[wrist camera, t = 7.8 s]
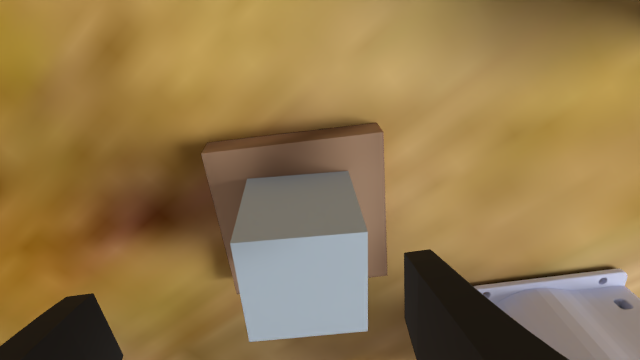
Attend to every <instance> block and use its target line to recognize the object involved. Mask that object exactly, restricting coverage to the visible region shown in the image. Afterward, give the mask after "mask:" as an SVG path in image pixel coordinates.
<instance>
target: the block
mask: <svg viewBox="0 0 640 360" xmlns="http://www.w3.org/2000/svg"><path fill="white" fill-rule="evenodd" d="M230 245H231V250H232V255H233V261H234V266H235V271H236V276H237V281H238V286H239V291H240V296H241V302H242V307H243V312H244V317H245V322H246V327H247V332H248V337H249V342H254V341H265V340H276V339H287V338H298V337H309V336H320V335H331V334H342V333H352V332H363V331H368V231H367V228H366V225H365V222H364V219H363V215H362V212H361V209H360V206H359V203H358V200H357V197H356V193H355V190H354V187H353V184H352V181H351V178H350V175H349V172H348V171H341V172H328V173H315V174H302V175H289V176H277V177H264V178H251V179H247V181H246V185H245V189H244V193H243V196H242V200H241V204H240V208H239V212H238V215H237V219H236V223H235V227H234V231H233V234H232V238H231V242H230Z"/></svg>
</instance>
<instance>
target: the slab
mask: <svg viewBox="0 0 640 360" xmlns="http://www.w3.org/2000/svg"><path fill="white" fill-rule="evenodd" d="M201 156H202V160H203V163H204V167H205V171H206V175H207V179H208V183H209V187H210V191H211V195H212V199H213V202H214V206H215V210H216V214H217V218H218V222H219V226H220V230H221V234H222V237H223V241H224V245H225V249H226V253H227V257H228V261H229V265H230V269H231V272H232V276H233V280H234V284H235V288H236V292H237V294H240V291H239V286H238V281H237V276H236V271H235V266H234V261H233V255H232V250H231V245H230V242H231V238H232V234H233V231H234V227H235V223H236V219H237V215H238V212H239V208H240V204H241V200H242V196H243V193H244V189H245V185H246V181H247V179H251V178H264V177H277V176H289V175H302V174H315V173H328V172H341V171H348V172H349V175H350V178H351V181H352V184H353V187H354V190H355V193H356V197H357V200H358V203H359V206H360V209H361V212H362V215H363V219H364V222H365V225H366V228H367V231H368V278H370V277H378V276H386V275H387V247H386V211H385V175H384V139H383V131H382V129H381V128H380V127H379V125H378V124H377V123H370V124H362V125H353V126H345V127H336V128H328V129H319V130H311V131H302V132H294V133H285V134H276V135H268V136H259V137H251V138H242V139H234V140H225V141H217V142H208V143H207V144H206V146H205V148H204V149H203V151H202V153H201Z"/></svg>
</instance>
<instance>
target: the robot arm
mask: <svg viewBox="0 0 640 360" xmlns="http://www.w3.org/2000/svg"><path fill="white" fill-rule="evenodd" d="M626 280H627V274H626V273H625V272H624V271H623V270H622V269H610V270H601V271H593V272H585V273H577V274H568V275H560V276H552V277H544V278H535V279H527V280H519V281H511V282H502V283H494V284H486V285H478V286H472V285H471V284H470V283H469V282H467V281H466V280H465V279H464V278H463V277H462V276H460V275H459V274H458V273H457V272H456V271H455V270H454V269H452V268H451V267H450V266H449V265H448V264H447V263H446V262H444V261H443V260H442V259H441V258H440V257H439V256H437V255H436V254H435V253H434V252H433V251H431V250H422V251H415V252H407V253H404V289H405V321H406V324H407V328H408V331H409V335H410V338H411V342H412V345H413V349H414V352H415V355H416V359H417V360H640V298H638V297H637V296H636V295H635V294H634V293H632V292H631V291H630V290H629V289H628V288H627V287H625V283H626ZM485 292H486V293H485ZM483 293H484V294H483ZM122 358H123V354H122V352H121V350H120V347H119V345H118V343H117V341H116V339H115V337H114V335H113V333H112V331H111V329H110V327H109V325H108V323H107V321H106V319H105V317H104V314H103V312H102V310H101V308H100V306H99V304H98V302H97V300H96V298H95V296H94V294H85V295H77V296H69V297H66V298H64V299H63V300H61V301H60V302H58V303H57V304H55V305H54V306H53V307H51V308H50V309H48V310H47V311H46V312H44V313H43V314H42V315H40V316H39V317H38V318H36V319H35V320H34V321H32V322H31V323H30V324H28V325H27V326H26V327H25V328H23V329H22V330H21V331H19V332H18V333H17V334H15V335H14V336H13V337H12V338H10V339H9V340H8V341H6V342H5V343H4V344H3V345H1V346H0V360H122Z"/></svg>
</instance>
